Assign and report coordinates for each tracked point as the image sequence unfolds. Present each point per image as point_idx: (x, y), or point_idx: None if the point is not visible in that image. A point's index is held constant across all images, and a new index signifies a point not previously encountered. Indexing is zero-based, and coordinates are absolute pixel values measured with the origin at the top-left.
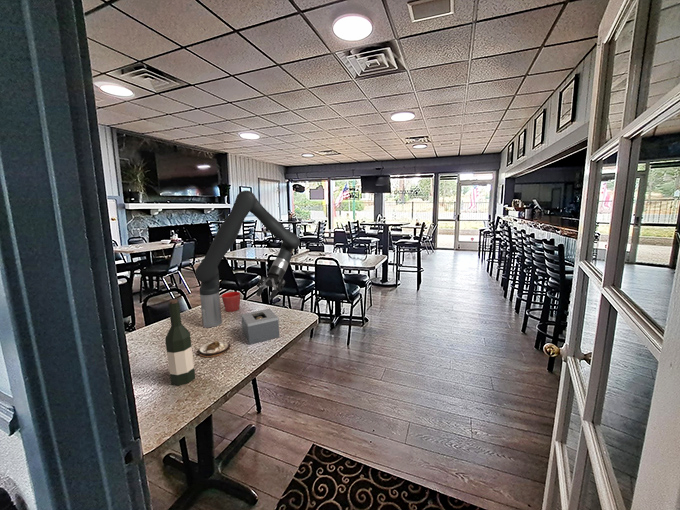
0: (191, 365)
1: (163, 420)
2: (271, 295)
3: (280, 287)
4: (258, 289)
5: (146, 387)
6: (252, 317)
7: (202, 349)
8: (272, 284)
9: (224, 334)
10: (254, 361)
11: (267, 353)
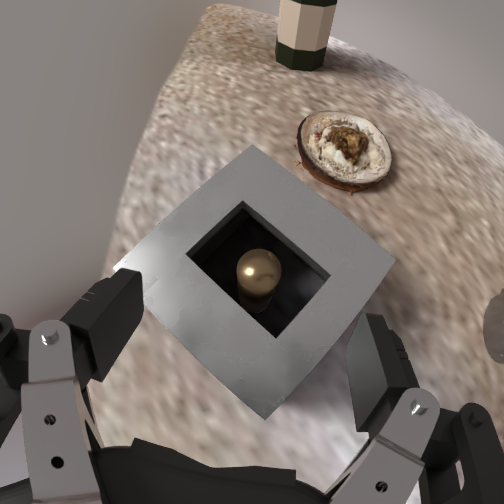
0: (278, 31)
1: (236, 14)
2: (116, 275)
3: (8, 414)
4: (412, 379)
5: (338, 44)
6: (286, 227)
7: (369, 131)
8: (76, 406)
9: (413, 263)
10: (170, 128)
11: (148, 172)
